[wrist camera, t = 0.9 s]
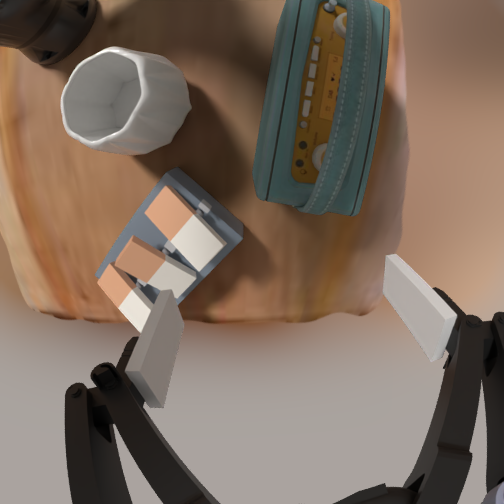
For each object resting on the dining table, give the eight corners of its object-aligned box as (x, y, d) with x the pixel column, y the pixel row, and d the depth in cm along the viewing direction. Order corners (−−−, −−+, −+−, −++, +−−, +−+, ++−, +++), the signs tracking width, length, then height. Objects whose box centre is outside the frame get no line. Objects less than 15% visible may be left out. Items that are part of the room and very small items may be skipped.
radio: (322, 193, 39) (382, 245, 21) (250, 181, 38) (255, 225, 20) (348, 38, 29) (418, -12, 11) (278, 20, 28) (304, -56, 10)
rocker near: (152, 213, 34) (142, 215, 32) (175, 183, 33) (167, 183, 30) (203, 268, 34) (196, 273, 32) (231, 240, 33) (225, 243, 31)
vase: (205, 137, 36) (182, 138, 22) (118, 165, 37) (61, 184, 23) (185, 50, 30) (154, 10, 16) (100, 83, 31) (40, 70, 17)
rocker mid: (116, 256, 33) (113, 267, 31) (135, 228, 32) (133, 238, 30) (175, 289, 39) (175, 300, 37) (196, 265, 37) (198, 276, 36)
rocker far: (105, 279, 38) (96, 284, 36) (120, 257, 37) (110, 261, 34) (147, 328, 38) (140, 334, 36) (165, 308, 37) (157, 315, 34)
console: (108, 260, 43) (88, 282, 36) (179, 164, 37) (164, 170, 30) (167, 306, 47) (156, 334, 40) (247, 223, 41) (248, 243, 34)
